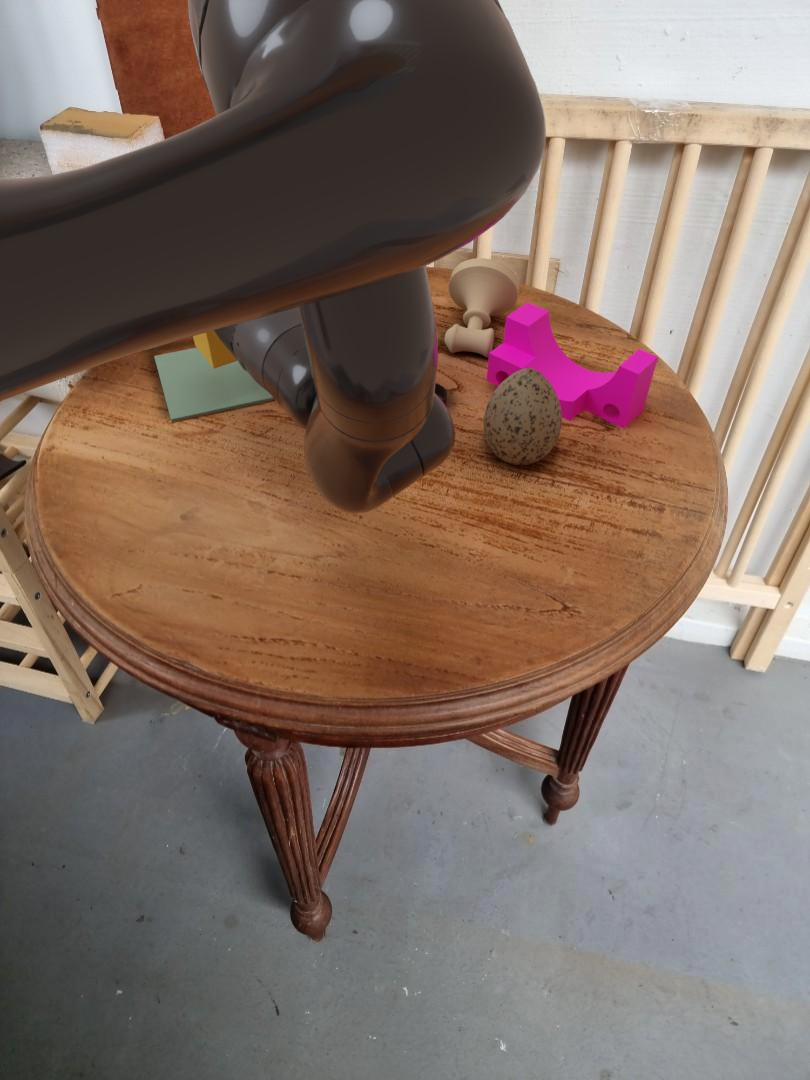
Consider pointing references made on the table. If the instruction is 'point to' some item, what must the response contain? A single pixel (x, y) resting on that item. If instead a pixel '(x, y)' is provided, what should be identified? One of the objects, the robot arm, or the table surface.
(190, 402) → the mat
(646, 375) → the toy block
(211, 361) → the yellow block
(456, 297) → the door knob
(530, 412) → the decorative egg
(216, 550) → the table surface
